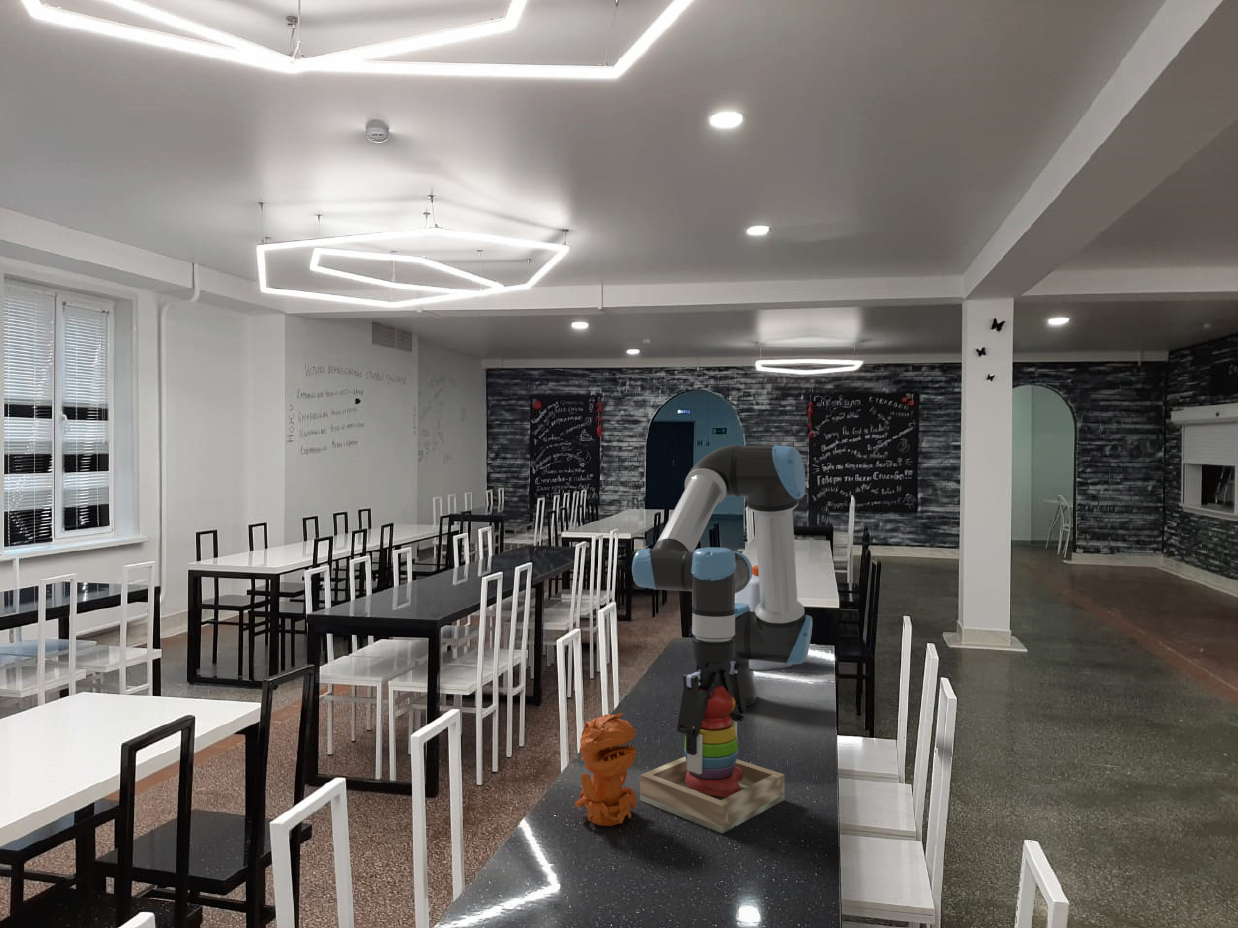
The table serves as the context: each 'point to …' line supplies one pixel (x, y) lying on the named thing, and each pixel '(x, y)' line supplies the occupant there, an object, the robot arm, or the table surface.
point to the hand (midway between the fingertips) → (712, 763)
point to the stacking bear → (717, 749)
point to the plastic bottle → (752, 598)
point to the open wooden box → (710, 810)
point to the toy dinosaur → (607, 769)
